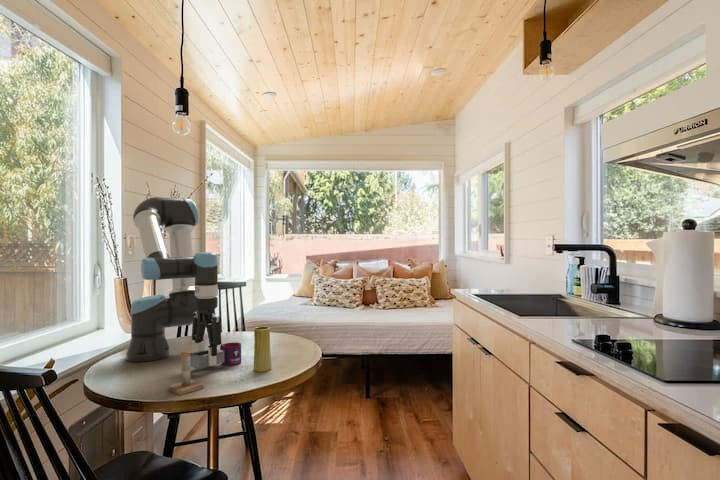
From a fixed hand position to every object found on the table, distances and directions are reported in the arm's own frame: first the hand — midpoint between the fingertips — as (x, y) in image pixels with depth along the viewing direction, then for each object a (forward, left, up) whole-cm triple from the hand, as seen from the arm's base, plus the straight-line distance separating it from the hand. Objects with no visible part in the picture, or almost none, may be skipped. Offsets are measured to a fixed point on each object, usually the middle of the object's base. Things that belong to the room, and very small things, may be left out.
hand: (206, 362), depth 143 cm
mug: (0, +10, -2) cm, 10 cm away
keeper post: (+13, -15, -2) cm, 20 cm away
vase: (+17, +11, -2) cm, 20 cm away
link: (0, 0, 0) cm, 0 cm away
